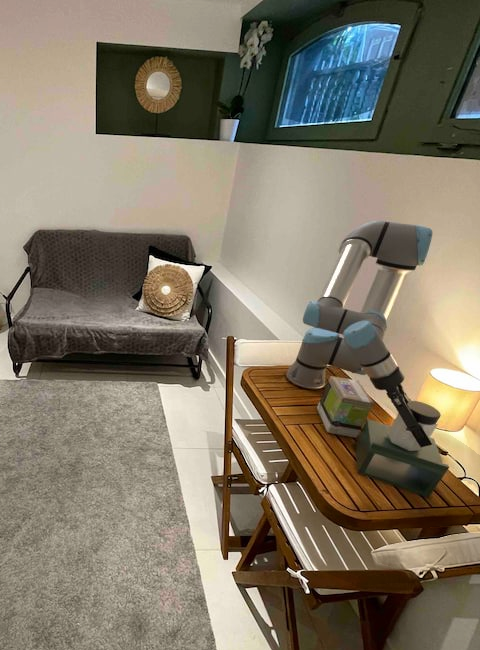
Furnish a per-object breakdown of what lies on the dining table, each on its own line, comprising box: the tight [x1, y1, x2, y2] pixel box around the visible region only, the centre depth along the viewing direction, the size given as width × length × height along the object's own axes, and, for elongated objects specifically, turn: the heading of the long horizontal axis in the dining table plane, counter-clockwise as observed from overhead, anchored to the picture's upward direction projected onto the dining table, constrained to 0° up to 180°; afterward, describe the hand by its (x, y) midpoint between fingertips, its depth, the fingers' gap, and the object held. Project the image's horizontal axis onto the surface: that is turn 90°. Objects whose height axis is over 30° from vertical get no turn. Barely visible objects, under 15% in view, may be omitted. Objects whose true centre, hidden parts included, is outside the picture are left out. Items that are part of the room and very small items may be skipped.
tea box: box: [316, 375, 375, 438], centre depth 131 cm, size 15×10×15 cm, turn 168°
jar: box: [387, 400, 442, 451], centre depth 108 cm, size 9×8×12 cm
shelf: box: [354, 418, 450, 498], centre depth 113 cm, size 16×18×12 cm
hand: (422, 435), depth 108 cm, fingers closed on jar, 9 cm apart
